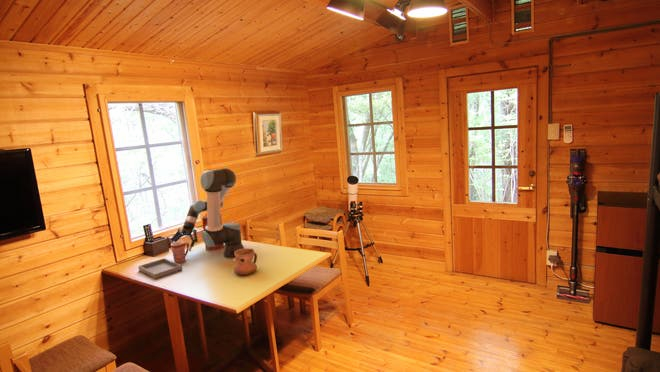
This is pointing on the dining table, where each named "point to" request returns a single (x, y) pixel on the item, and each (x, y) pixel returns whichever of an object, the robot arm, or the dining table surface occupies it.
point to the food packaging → (204, 230)
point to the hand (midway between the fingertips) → (180, 250)
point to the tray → (160, 268)
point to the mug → (179, 251)
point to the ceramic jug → (245, 261)
